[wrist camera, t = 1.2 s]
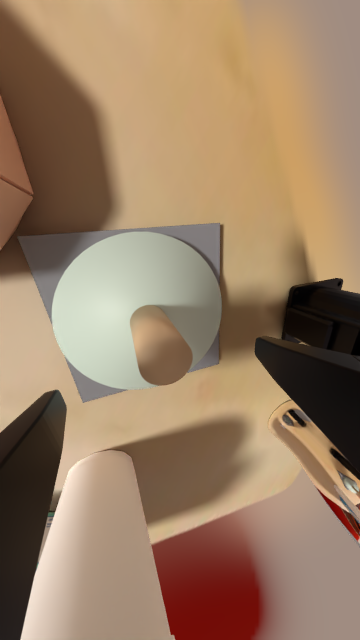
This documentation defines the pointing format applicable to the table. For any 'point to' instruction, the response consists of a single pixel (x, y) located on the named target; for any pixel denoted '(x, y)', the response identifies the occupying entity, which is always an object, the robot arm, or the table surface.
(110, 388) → the mat
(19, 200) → the bowl
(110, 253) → the lid
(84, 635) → the foam cup
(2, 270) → the table surface
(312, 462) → the beer glass
